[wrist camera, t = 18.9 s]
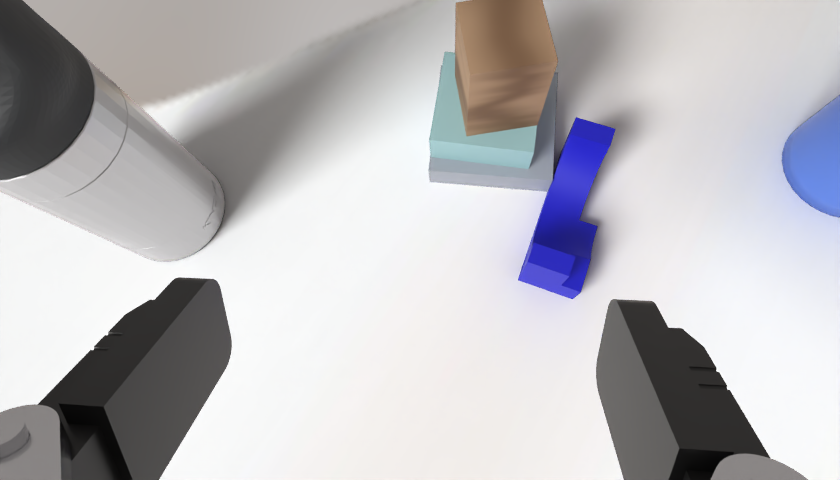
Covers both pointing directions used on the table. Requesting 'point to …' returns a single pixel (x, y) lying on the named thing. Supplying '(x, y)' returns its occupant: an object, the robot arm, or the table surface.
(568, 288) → the cable clip
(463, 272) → the table surface
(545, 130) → the slate base slab
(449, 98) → the teal top slab
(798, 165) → the water bottle
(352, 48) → the table surface
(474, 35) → the walnut block
